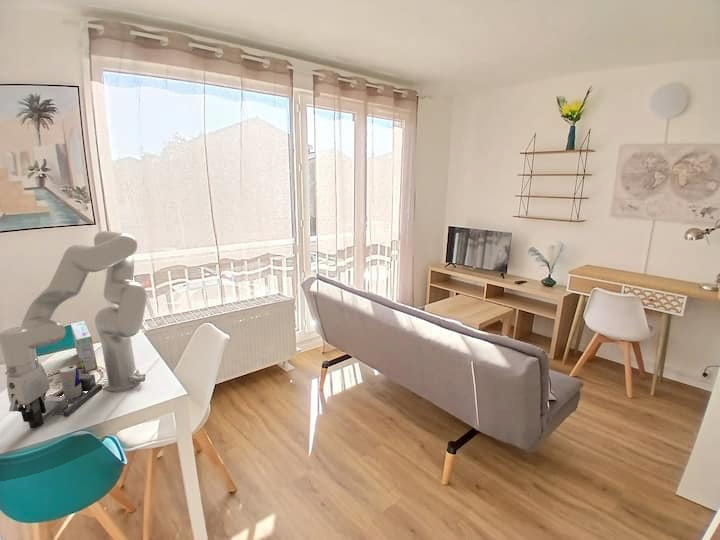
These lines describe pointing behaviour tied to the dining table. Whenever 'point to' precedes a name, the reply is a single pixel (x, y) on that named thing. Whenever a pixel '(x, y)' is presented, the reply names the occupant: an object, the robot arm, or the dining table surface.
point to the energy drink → (71, 382)
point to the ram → (47, 409)
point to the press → (87, 385)
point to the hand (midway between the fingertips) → (35, 416)
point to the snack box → (84, 346)
